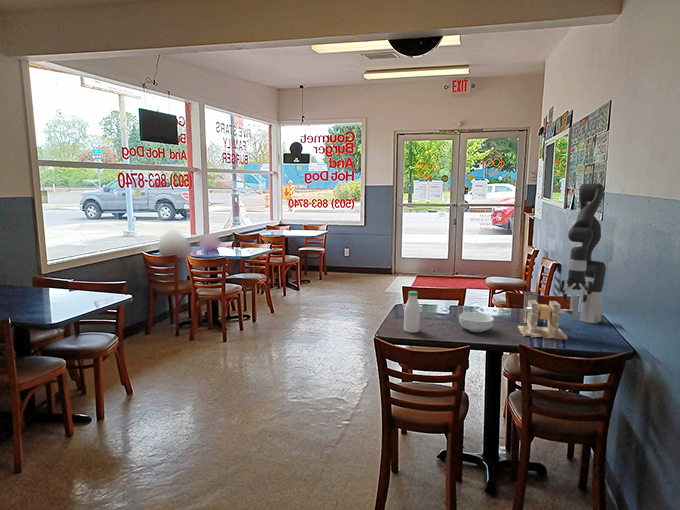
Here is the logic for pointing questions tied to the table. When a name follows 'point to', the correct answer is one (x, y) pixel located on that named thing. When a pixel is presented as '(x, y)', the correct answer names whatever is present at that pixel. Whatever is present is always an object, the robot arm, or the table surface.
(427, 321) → the table surface
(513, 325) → the table surface
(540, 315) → the spacer
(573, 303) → the shaft
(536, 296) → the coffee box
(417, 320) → the milk bottle
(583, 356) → the table surface
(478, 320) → the cereal bowl
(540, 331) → the stand
